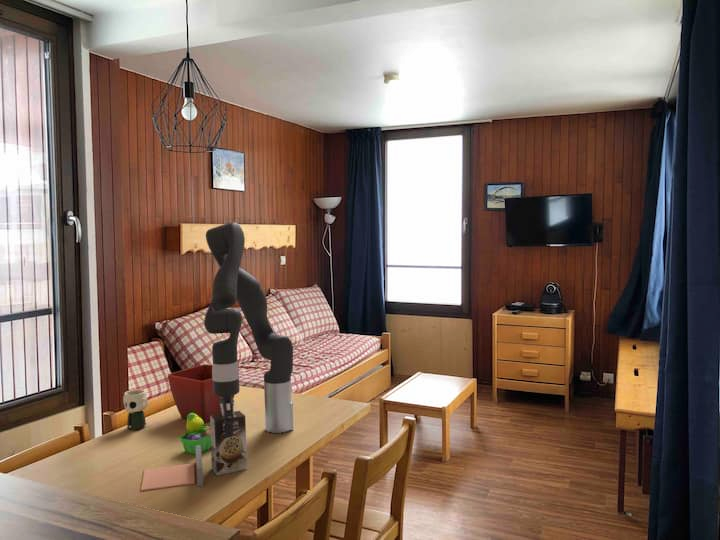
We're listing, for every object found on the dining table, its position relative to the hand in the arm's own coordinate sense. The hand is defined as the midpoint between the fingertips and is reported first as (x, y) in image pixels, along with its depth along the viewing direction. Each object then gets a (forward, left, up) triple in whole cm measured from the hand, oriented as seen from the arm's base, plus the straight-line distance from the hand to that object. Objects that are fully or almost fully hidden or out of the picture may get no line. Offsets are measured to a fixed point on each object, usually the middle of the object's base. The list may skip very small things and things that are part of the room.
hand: (228, 431), depth 173 cm
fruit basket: (+8, -20, -11) cm, 24 cm away
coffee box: (0, 0, -11) cm, 11 cm away
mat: (+17, 0, -11) cm, 20 cm away
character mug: (+29, -48, -11) cm, 57 cm away
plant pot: (+5, -53, -11) cm, 54 cm away
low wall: (+8, 0, -11) cm, 14 cm away
